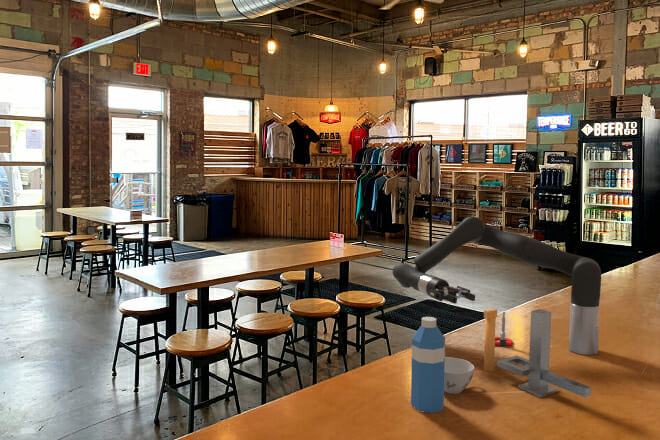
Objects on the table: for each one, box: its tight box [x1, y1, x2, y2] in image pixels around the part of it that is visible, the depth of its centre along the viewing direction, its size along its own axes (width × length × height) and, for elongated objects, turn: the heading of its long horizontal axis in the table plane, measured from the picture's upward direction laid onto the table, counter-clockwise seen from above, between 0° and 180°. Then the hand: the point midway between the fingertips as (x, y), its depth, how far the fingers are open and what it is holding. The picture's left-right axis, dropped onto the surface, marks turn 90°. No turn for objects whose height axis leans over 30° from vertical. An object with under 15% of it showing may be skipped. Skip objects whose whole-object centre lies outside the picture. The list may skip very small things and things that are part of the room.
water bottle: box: [410, 316, 446, 414], centre depth 153 cm, size 9×9×25 cm
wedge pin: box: [483, 308, 498, 372], centre depth 180 cm, size 4×3×20 cm
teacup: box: [444, 356, 475, 395], centre depth 166 cm, size 15×12×8 cm
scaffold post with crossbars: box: [496, 308, 592, 398], centre depth 162 cm, size 28×9×24 cm, turn 31°
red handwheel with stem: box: [495, 311, 513, 348], centre depth 207 cm, size 8×13×9 cm
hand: (465, 299), depth 188 cm, fingers open, 8 cm apart
